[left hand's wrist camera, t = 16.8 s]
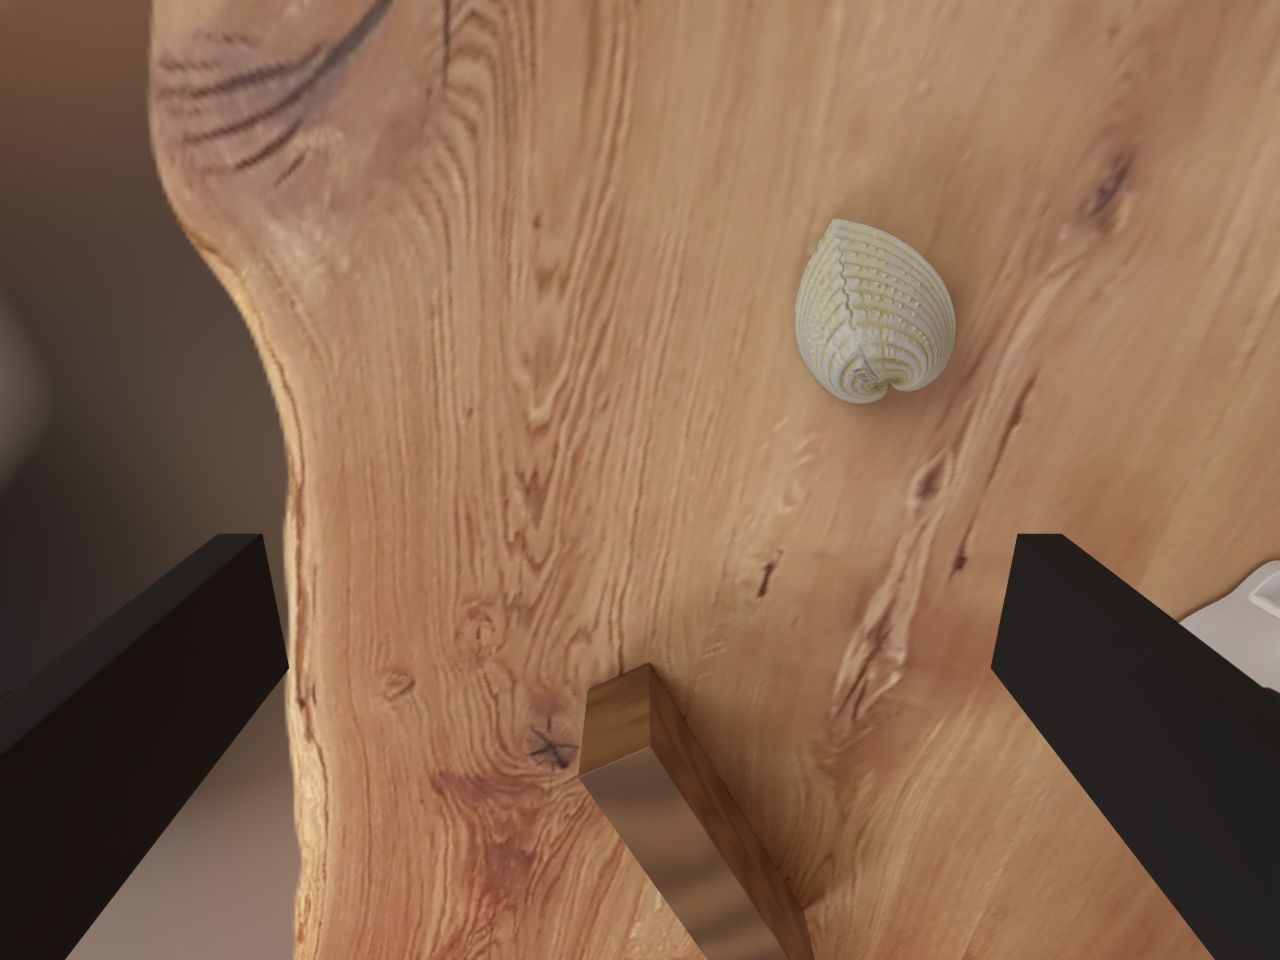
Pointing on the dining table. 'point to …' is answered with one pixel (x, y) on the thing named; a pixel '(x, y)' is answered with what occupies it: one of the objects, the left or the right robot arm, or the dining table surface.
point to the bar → (685, 824)
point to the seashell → (872, 315)
